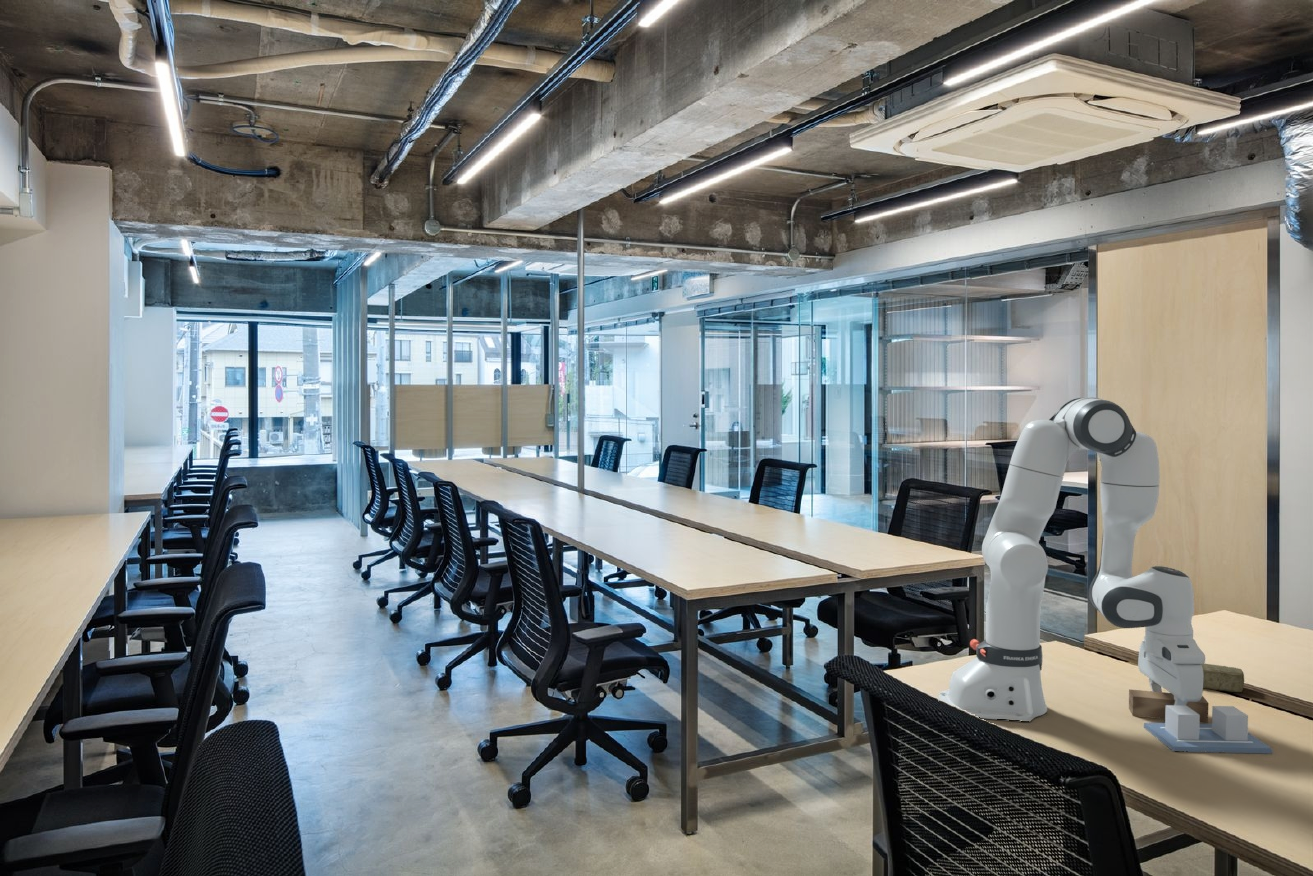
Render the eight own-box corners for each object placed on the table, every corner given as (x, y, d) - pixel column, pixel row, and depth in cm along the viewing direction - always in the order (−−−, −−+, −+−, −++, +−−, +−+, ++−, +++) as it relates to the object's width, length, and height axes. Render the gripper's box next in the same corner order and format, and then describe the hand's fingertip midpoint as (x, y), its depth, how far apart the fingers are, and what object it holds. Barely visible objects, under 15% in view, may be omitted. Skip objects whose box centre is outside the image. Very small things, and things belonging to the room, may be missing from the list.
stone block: (1244, 695, 198) (1245, 673, 198) (1185, 687, 204) (1186, 666, 204) (1242, 687, 204) (1242, 666, 203) (1184, 680, 209) (1185, 659, 209)
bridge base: (1173, 751, 169) (1174, 721, 168) (1143, 727, 180) (1144, 699, 180) (1271, 753, 167) (1272, 722, 167) (1235, 729, 179) (1236, 700, 179)
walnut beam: (1132, 717, 187) (1133, 696, 187) (1128, 709, 191) (1129, 689, 191) (1208, 724, 182) (1208, 703, 182) (1202, 716, 187) (1202, 695, 186)
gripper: (1130, 630, 197) (1129, 690, 197) (1177, 658, 176) (1176, 725, 177) (1160, 630, 196) (1159, 690, 197) (1210, 658, 176) (1208, 726, 176)
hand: (1167, 707), depth 187 cm, fingers open, 7 cm apart
